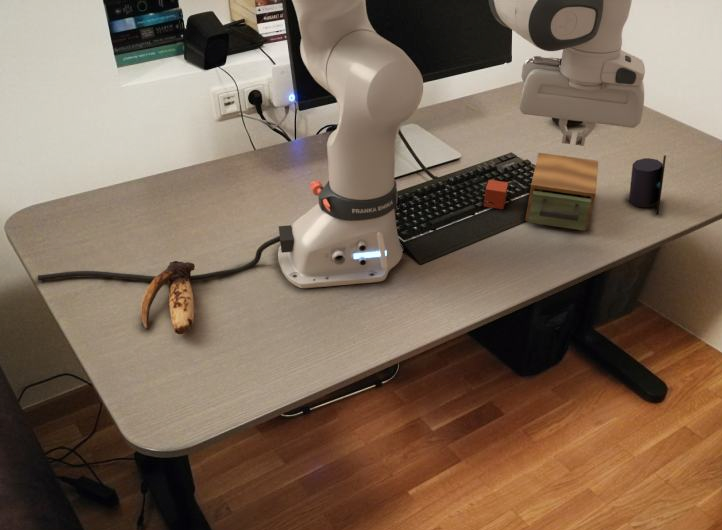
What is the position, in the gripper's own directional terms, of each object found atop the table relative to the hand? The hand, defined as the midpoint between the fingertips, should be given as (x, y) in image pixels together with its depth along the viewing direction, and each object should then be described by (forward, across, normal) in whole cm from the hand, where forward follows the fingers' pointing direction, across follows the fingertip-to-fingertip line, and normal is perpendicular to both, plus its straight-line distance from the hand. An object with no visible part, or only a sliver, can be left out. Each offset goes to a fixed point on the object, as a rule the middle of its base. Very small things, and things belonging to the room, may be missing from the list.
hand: (572, 143), depth 118 cm
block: (+19, -13, +9) cm, 25 cm away
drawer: (+18, 0, +6) cm, 19 cm away
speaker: (+19, +17, +17) cm, 31 cm away
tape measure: (+19, -1, +51) cm, 55 cm away
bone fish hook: (+19, -59, -39) cm, 74 cm away
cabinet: (+19, 0, +11) cm, 22 cm away
